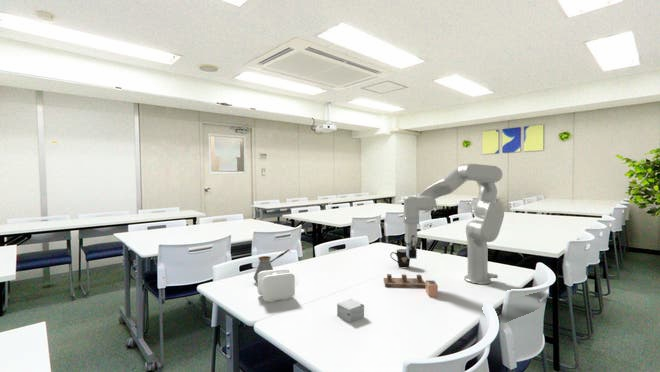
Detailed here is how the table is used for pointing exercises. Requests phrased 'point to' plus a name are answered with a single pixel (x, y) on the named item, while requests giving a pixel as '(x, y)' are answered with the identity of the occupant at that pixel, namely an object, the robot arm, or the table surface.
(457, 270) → the table surface
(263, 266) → the coffee pot
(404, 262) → the coffee mug
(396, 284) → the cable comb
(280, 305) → the table surface
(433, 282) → the terracotta plug
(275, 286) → the cable organizer
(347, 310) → the small box
